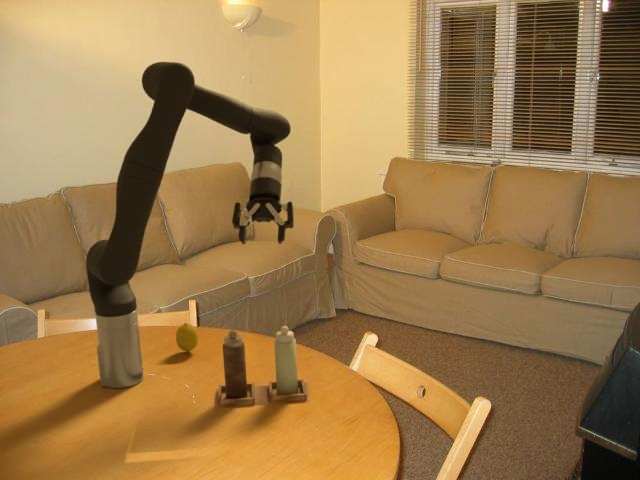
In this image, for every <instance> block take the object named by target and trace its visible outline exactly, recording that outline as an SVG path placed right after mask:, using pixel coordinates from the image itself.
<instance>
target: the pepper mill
mask: <svg viewBox="0 0 640 480" xmlns="http://www.w3.org/2000/svg"><path fill="white" fill-rule="evenodd" d="M223 342H224V343H223V344H222V356H223V369H224V370H223V371H224V382H225V383H224V385H225V389H226V399H237V398H247V383H248V382H247V381H248V380H247V366H246V363H247V362H246V350H245V348H246V346H245V343H244V341H243V336H242V335H241V334H238V332H237V331H236V330H235V329H231V330H229V332H228V335H226V336H225V337H224V338H223Z"/></svg>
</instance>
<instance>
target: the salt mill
mask: <svg viewBox="0 0 640 480" xmlns="http://www.w3.org/2000/svg"><path fill="white" fill-rule="evenodd" d="M289 329H290V328H289V327H288V326H286V325H283V326H281V327H280V330H279V331H277V332H276V333H275V340H273V342H274V343H273V344H274V363H275V381H276V384H277V395H291V394H298V379H299V378H298V360H297V340H296V338H295V336H294V335H295V333H294V332H293V331H292V330H289Z"/></svg>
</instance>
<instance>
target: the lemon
mask: <svg viewBox="0 0 640 480" xmlns="http://www.w3.org/2000/svg"><path fill="white" fill-rule="evenodd" d="M197 330H198V329H197V327H195V326H194V325H193V324H191V323H188V322H184V324H181V325H180V326H178V328H177V330H176V332H175V341H176V345H177V348H179V349H180V350H182V351H184V352H186V353H191V351H193V350H194V349H195V348H196V347H197V345H198V343H199V334H198V331H197Z"/></svg>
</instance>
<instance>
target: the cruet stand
mask: <svg viewBox="0 0 640 480" xmlns="http://www.w3.org/2000/svg"><path fill="white" fill-rule="evenodd" d="M297 379H298V394H291V395H277V384H276V380H271V381H270V380H269V381H268V385H267V384H266V385H255V382H247V398H237V399H226V389H225V384H219V385H218V388H216V393H215V404H214V405H215V407H214V409H223V408H225V409H226V408H234V407H235V408H237V407H248V406H249V407H250V406H261V405H262V406H263V405H264V406H265V405H274V404H287V403H288V404H289V403H299V402H300V403H302V402H304V403H305V402H311V399H310V393H309V388H308V383H307V382H305V379H304V378H297Z"/></svg>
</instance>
